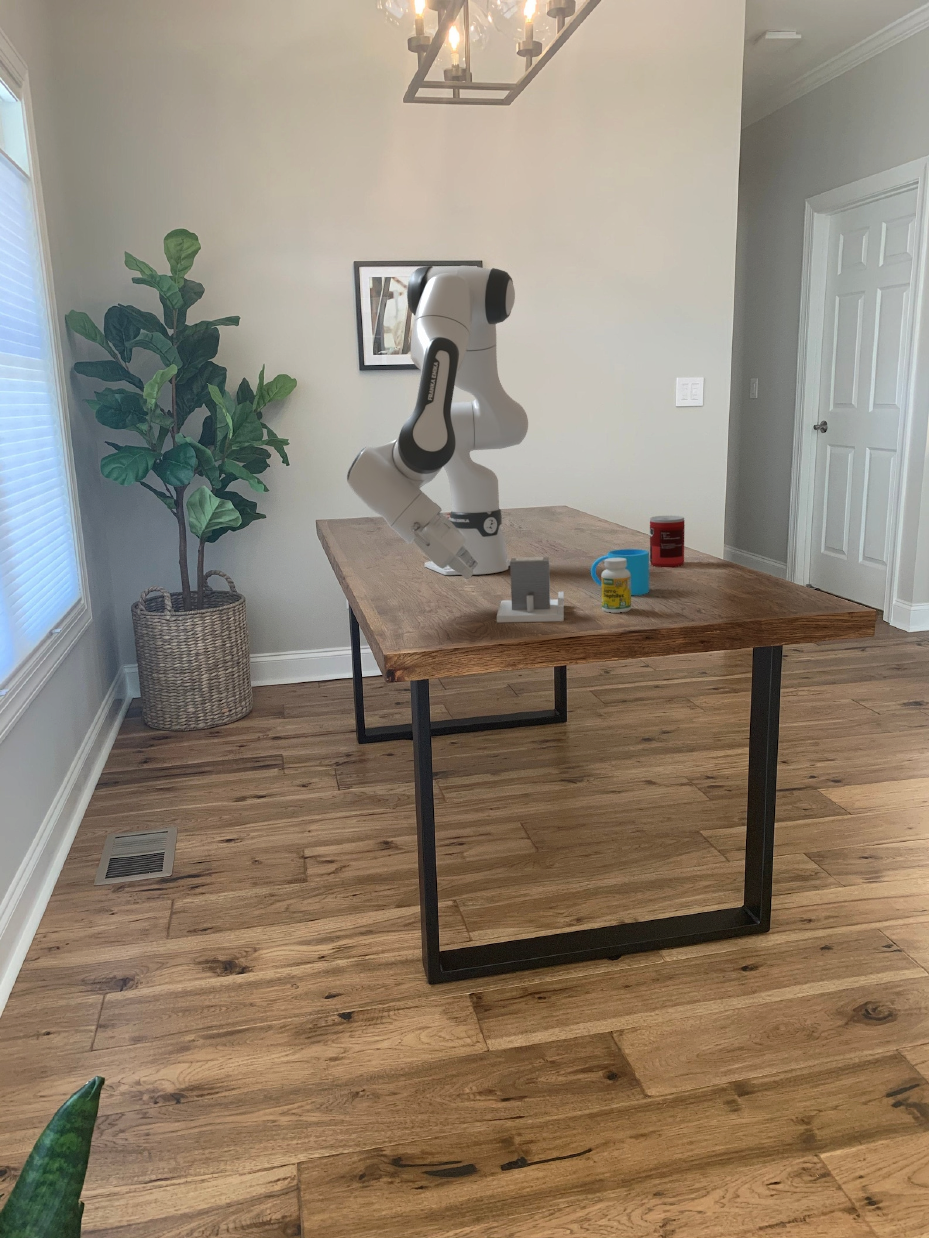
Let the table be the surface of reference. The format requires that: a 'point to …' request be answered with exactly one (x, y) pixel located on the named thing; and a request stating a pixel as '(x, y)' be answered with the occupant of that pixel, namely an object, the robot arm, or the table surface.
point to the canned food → (667, 541)
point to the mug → (630, 568)
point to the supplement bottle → (616, 586)
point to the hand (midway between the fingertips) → (473, 571)
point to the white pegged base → (532, 611)
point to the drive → (530, 582)
